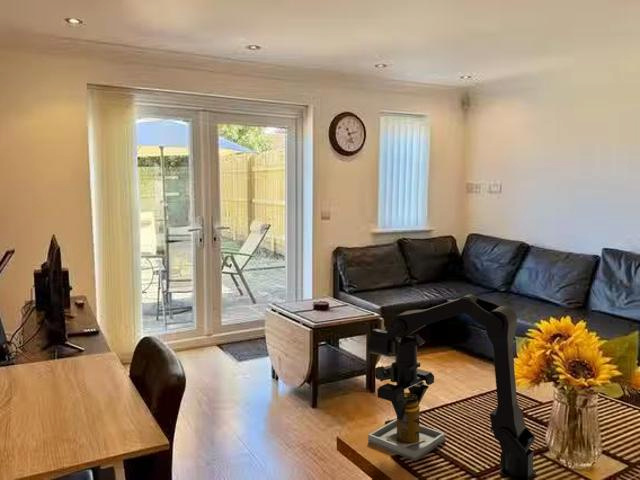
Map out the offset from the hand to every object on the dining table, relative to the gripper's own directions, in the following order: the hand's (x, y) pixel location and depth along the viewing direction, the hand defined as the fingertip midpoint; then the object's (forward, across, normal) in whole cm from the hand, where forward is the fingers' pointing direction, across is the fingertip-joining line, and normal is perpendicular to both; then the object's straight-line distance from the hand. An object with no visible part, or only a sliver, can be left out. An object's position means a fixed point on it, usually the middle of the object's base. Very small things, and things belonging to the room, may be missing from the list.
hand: (406, 415), depth 145 cm
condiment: (+7, +1, 0) cm, 7 cm away
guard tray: (+7, 0, 0) cm, 7 cm away
